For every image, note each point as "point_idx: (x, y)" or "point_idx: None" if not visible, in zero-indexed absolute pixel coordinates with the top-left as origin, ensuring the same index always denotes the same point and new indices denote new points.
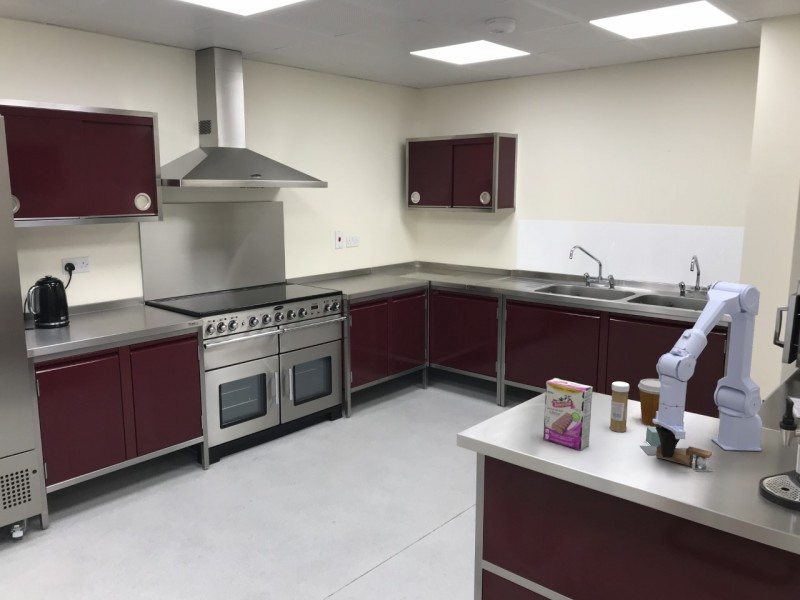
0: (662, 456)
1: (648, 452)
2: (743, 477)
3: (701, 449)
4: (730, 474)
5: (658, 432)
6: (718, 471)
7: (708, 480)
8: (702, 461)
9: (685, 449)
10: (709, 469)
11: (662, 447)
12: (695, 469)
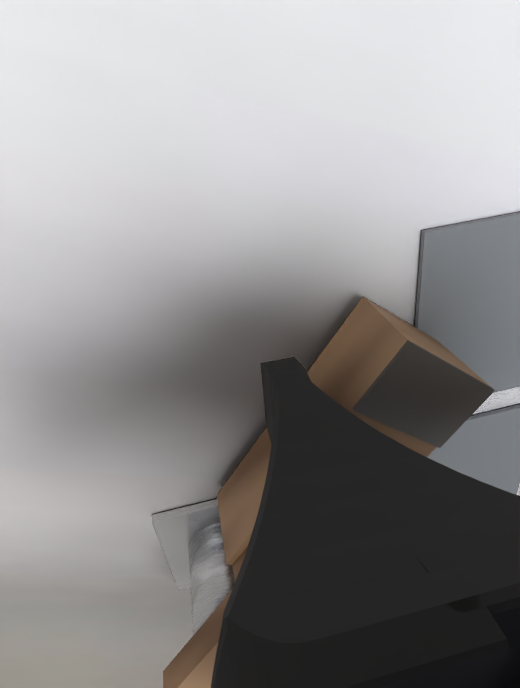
0: (336, 351)
1: (473, 246)
2: (145, 671)
3: None
4: (167, 637)
5: (439, 540)
6: None
7: (14, 566)
8: (191, 602)
9: (497, 486)
10: (188, 579)
11: (277, 416)
12: (164, 521)
